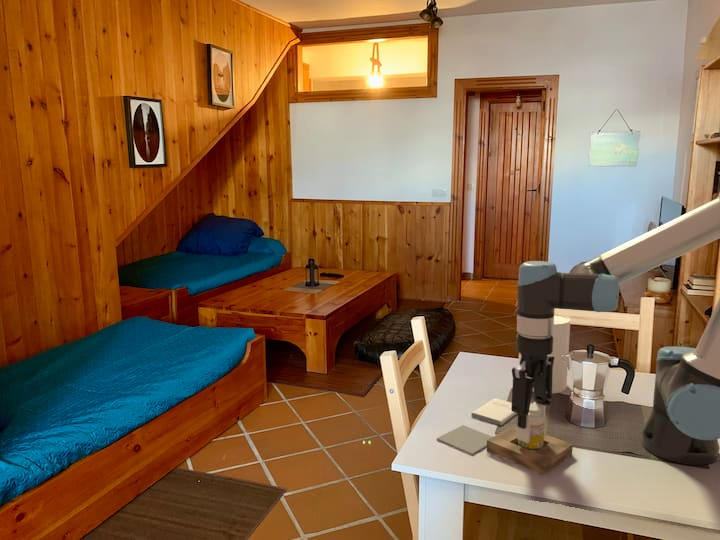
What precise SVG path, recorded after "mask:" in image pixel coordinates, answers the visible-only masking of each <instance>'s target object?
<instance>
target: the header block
mask: <svg viewBox="0 0 720 540" xmlns="http://www.w3.org/2000/svg"><path fill="white" fill-rule="evenodd" d="M517 427H518V423H515V424H513V425H511V426H510V427H508V428H507V429H504V430H503V431H501V432H499V433H498V434H496V435H494V436H492V438H490V439H488V440H487V447H486V452H488V453H491V454H494V455H496V456H498V457H501V458H503V459H504V460H505V459H506V460H508V461H509V462H512V463H514V464H518V465H520V466H522V467H524V468H527V469H529V470H532V471H534V472H536V473H538V474H541V475H546V474H547V473H549V472H550V471H551V470H553V469H554V468H556V467H557V466H559V465H560V464H562V463H563V462H564V461H565V460H567V459H568V458H570V457H571V456H572V455H573V449H574V448H573V445H574V444H573V443H570V442H568V441H565V440H562V439H559V438H557V437H553V436H550V435H548V434H545V433H544V444H543V447H542V448H540V449H539V450H537V451H536V452H534V451H531V450H528V449H526V448H523V447H521V446H518V439H517Z"/></svg>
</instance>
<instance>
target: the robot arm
mask: <svg viewBox="0 0 720 540" xmlns="http://www.w3.org/2000/svg"><path fill="white" fill-rule="evenodd" d="M719 239H720V192H719V193H718V195H717V197H716V198H715V199H713V200H711V201H709V202H706V203H705V204H703V205H700V206H698V207H696V208H693V210H691V211H688V212H686V213H684V214H682V215H680V216H678V217H676V218H674V219H672V220H670V221H668V222H665V223H663V224H662V225H659V226H657V227H655V228H653V229H651V230H650V231H647V232H645V233H643V234H641V235H639V236H637V237H635V238H633V239H631V240H628V241H627V242H624V243H623V244H620V245H618V246H617V247H614V248H613V249H610V250H608V251H606V252H604V253H601V254H600V255H599V256H596V257H594V258H592V259H590V260H588V261H580V262H578V263H576V264H575V265H573V266H572V268H571V269H570V270H569V272H559V271H558V269H557V266H556V263H554V262H551V261H543V260H530V261H524V262H522V264H520V266H519V268H518V281H517V313H516V314H517V315H516V331H517V334H516V336H515V337H516V339H515V341H516V342H515V350H516V352H518V354H519V353H520V354H521V360H520V366H519V365H518V366H517V367H512V369H511V374H512V389H511V390H512V391H511V393H512V394H511V403H512V407H511V410H512V411H513V412H516V413H517V424H518V427H517V439H518V440H521V441H523V442H526V443H529V442H530V431H531V413H529V408H530V403H532V404H537V405H539V406H540V407H541V416H542V417H543V418H544V432H546V430H545V427H546V407H547V406H550V405H551V402H552V400H551V399H552V396H553V393H552V372H553V362H554V356H550V354H551V353H552V352H553V337H552V334H553V333H554V313H555V309H560V310H571V311H572V310H575V311H588V312H596V313H601V312H602V313H603V312H605V313H606V312H609V313H610V312H614V311H616V310H617V309H618V305H619V295H620V294H619V293H620V284H623V283H625V282H627V281H629V280H631V279H633V278H636V277H638V276H640V275H642V274H644V273H647V272H649V271H651V270H653V269H655V268H658V267H660V266H662V265H664V264H666V263H668V262H672V261H673V260H675V259H677V258H680V257H681V256H684V255H686V254H688V253H691V252H693V251H695V250H697V249H699V248H701V247H704V246H706V245H708V244H710V243H712V242H714V241H717V240H719ZM655 362H656V368H655V369H656V370H655V379H654V390H653V400H652V401H653V403H652V411H651V413H650V415H649V416H648V419H647V421H646V423H645V425H644V427H643V429H642V431H641V440H640V441H641V445H642V446H643V447H644V448H645V449H646V450H647V451H648V452H650V453H651V454H653V455H655V456H657V457H660V458H661V459H665V460H667V461H672V462H674V463H679V464H685V465H691V466H692V465H693V466H694V465H697V466H699V465H700V466H702V465H709V464H713V463H715V462H716V461H718V459H719V458H720V457H719V456H720V443H719V441H718V439H720V297H719V299H718V300H717V302H716V305H715V307H714V310H713V311H712V314H711V316H710V318H709V320H708V322H707V323H706V326H705V328H704V331H703V332H702V335H701V337H700V339H699V341H698V343H697V346H696V348H695V347H690V346H689V347H687V346H663V347H660V349H658V351H657V356H656V358H655ZM527 377H530V378H532V379H530V378H527ZM533 387H534V392H533ZM533 393H534V400H535V401H534V402H532V397H533ZM546 405H547V406H546Z"/></svg>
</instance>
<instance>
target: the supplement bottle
mask: <svg viewBox="0 0 720 540" xmlns="http://www.w3.org/2000/svg"><path fill="white" fill-rule="evenodd" d="M529 413H531V431H530V442H529V443H526V442H523V441H521V440H518V446H521V447H523V448H526V449H528V450H531V451H534V452H536V451H537V450H539V449H540V448H542V447H543V444H544V434H545V431H544V418H543V417H542V416H541V407H540V406H539V405H537V404H533V402H531V403H530V408H529Z"/></svg>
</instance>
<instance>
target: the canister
mask: <svg viewBox="0 0 720 540" xmlns="http://www.w3.org/2000/svg"><path fill="white" fill-rule="evenodd" d="M570 330H571V318H570V317H568V316H566V315H563V314H559V313H555V312H554V333H553V334H552V337H553V352H552V353H551V354H550V356H554V362H553V372H552V394H558V393H562V392H564V391H566V389H567V382H568V368H567V365H566V363H565V362H564V360H563V359H562V357H561V356H562V355H564V354H567V353H568V354H569V349H570V335H571V334H570V333H571V332H570ZM520 360H521V354H520V353H519V352H518V367H519V366H520ZM527 378H530V377H527ZM530 379H532V378H530ZM532 393H534V387H533V392H532Z"/></svg>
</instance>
